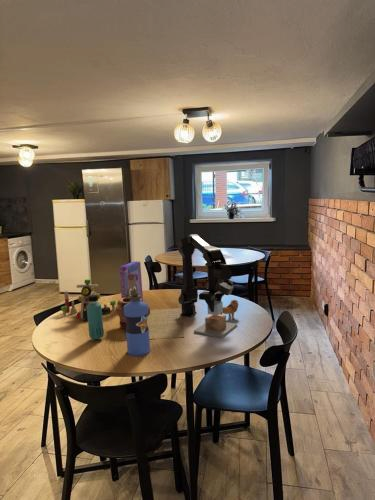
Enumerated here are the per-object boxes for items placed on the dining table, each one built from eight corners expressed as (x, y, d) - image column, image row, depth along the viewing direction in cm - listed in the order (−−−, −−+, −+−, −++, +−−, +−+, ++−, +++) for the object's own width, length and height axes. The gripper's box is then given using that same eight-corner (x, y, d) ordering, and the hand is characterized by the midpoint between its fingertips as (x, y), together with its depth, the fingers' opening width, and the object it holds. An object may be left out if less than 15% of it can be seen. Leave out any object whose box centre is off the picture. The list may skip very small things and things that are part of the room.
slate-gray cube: (207, 313, 154) (207, 303, 153) (213, 310, 158) (212, 300, 158) (217, 315, 152) (217, 304, 151) (222, 312, 156) (222, 301, 155)
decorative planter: (158, 324, 165) (156, 297, 164) (145, 334, 154) (143, 304, 153) (123, 320, 174) (121, 294, 172) (109, 329, 163) (106, 301, 161)
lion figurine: (235, 315, 174) (234, 297, 173) (241, 317, 170) (240, 300, 168) (210, 320, 168) (209, 302, 167) (215, 323, 163) (215, 305, 162)
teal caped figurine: (96, 343, 146) (92, 298, 144) (86, 340, 150) (81, 296, 147) (107, 338, 152) (104, 294, 149) (97, 335, 155) (93, 293, 153)
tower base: (193, 332, 153) (193, 319, 152) (210, 321, 166) (210, 309, 166) (221, 338, 146) (221, 324, 145) (237, 325, 159) (236, 312, 158)
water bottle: (122, 353, 135) (117, 292, 132) (138, 344, 143) (133, 286, 140) (139, 358, 130) (135, 294, 127) (155, 349, 138) (151, 288, 134)
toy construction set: (51, 320, 181) (47, 282, 178) (76, 307, 202) (73, 273, 200) (95, 323, 173) (91, 283, 170) (117, 309, 194) (114, 273, 191)
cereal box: (129, 308, 195) (126, 266, 191) (122, 307, 196) (119, 266, 193) (142, 299, 211) (140, 261, 208) (135, 299, 212) (133, 261, 209)
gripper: (220, 282, 141) (221, 319, 143) (239, 273, 156) (239, 306, 158) (197, 280, 146) (198, 315, 149) (217, 272, 162) (218, 303, 164)
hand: (215, 310), depth 155 cm, fingers closed on slate-gray cube, 5 cm apart
